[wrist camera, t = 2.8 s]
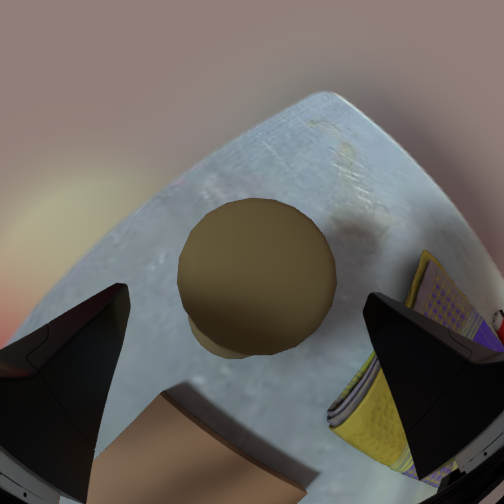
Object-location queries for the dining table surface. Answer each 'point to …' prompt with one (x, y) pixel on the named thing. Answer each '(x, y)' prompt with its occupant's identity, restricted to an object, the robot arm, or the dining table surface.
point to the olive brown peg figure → (255, 278)
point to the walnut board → (182, 465)
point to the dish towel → (375, 385)
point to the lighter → (499, 324)
